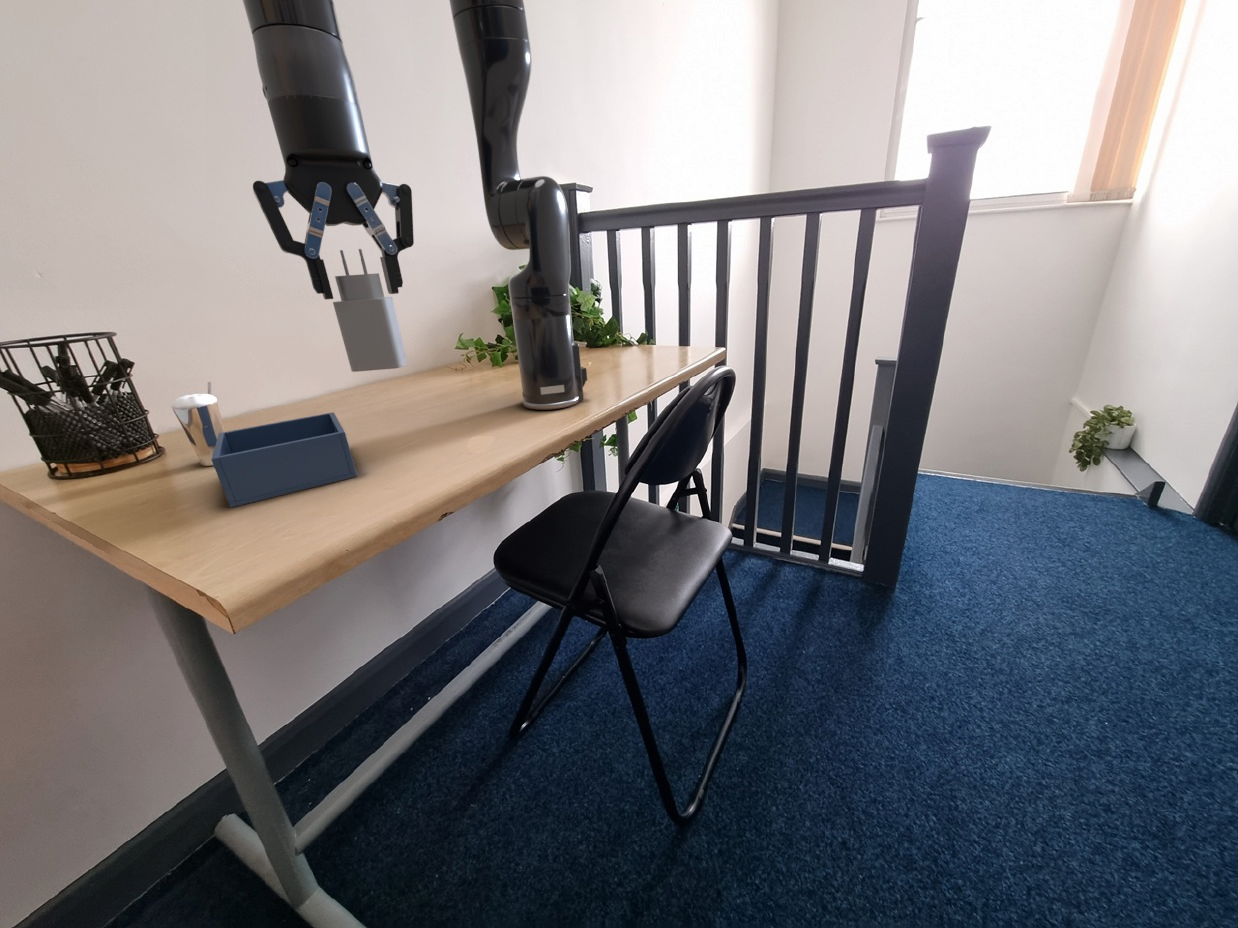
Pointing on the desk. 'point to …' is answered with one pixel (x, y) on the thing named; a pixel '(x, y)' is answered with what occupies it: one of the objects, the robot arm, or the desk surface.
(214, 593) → the desk surface
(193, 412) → the milkshake
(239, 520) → the desk surface
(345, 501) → the desk surface
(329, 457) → the basket
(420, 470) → the desk surface
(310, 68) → the robot arm
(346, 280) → the power adapter
